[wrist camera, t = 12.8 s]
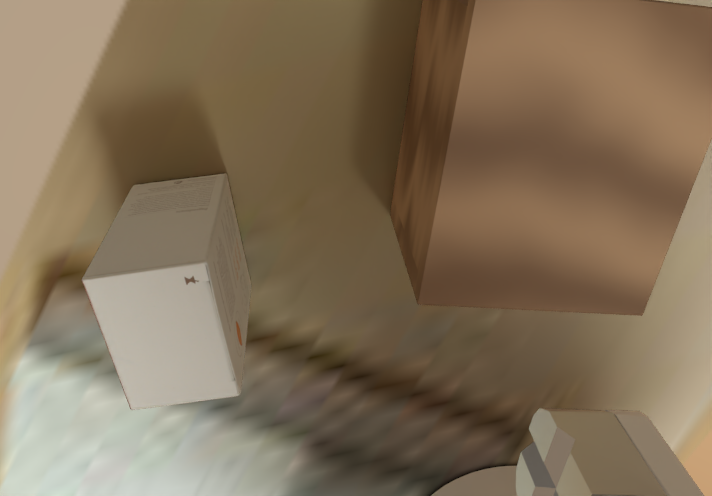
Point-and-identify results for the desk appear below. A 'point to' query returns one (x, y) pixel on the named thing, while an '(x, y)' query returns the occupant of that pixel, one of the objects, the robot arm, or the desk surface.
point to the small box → (173, 292)
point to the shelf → (550, 150)
